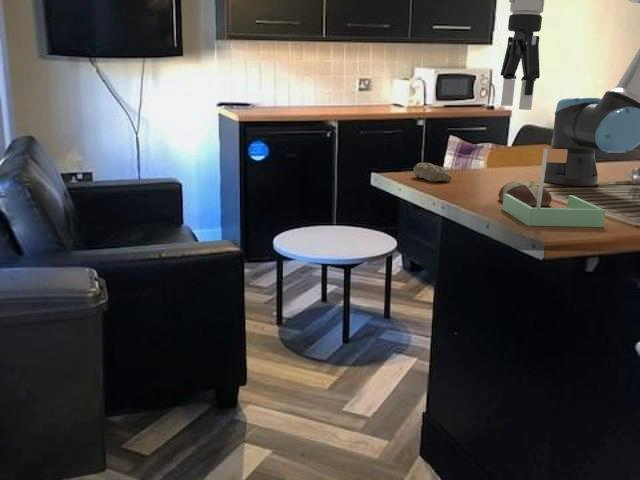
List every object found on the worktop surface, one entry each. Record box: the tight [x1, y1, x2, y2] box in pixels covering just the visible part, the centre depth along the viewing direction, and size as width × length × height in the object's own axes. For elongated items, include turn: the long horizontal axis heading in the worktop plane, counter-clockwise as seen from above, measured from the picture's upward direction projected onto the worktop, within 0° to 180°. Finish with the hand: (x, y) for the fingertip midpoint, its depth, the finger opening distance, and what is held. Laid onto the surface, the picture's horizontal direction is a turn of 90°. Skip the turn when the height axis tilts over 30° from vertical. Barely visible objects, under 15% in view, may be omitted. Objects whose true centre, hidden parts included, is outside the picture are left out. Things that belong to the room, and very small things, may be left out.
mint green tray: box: [501, 148, 607, 228], centre depth 143 cm, size 16×15×16 cm
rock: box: [412, 162, 452, 183], centre depth 186 cm, size 8×11×4 cm
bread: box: [498, 180, 553, 208], centre depth 159 cm, size 11×11×5 cm
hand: (515, 107), depth 166 cm, fingers open, 12 cm apart
